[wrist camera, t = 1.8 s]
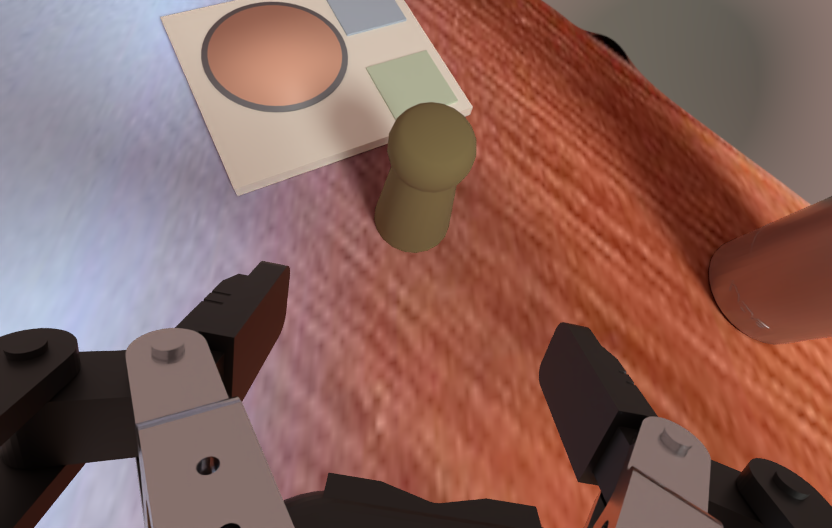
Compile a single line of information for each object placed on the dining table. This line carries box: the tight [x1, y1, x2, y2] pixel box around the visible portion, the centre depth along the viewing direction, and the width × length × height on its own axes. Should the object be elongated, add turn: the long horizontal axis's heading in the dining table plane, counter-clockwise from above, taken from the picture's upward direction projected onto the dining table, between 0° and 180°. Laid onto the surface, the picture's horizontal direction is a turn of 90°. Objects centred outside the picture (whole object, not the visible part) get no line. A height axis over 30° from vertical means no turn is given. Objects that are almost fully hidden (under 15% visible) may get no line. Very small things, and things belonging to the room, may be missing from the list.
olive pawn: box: [374, 102, 476, 253], centre depth 27 cm, size 6×6×11 cm
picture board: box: [160, 0, 473, 196], centre depth 35 cm, size 21×18×1 cm
